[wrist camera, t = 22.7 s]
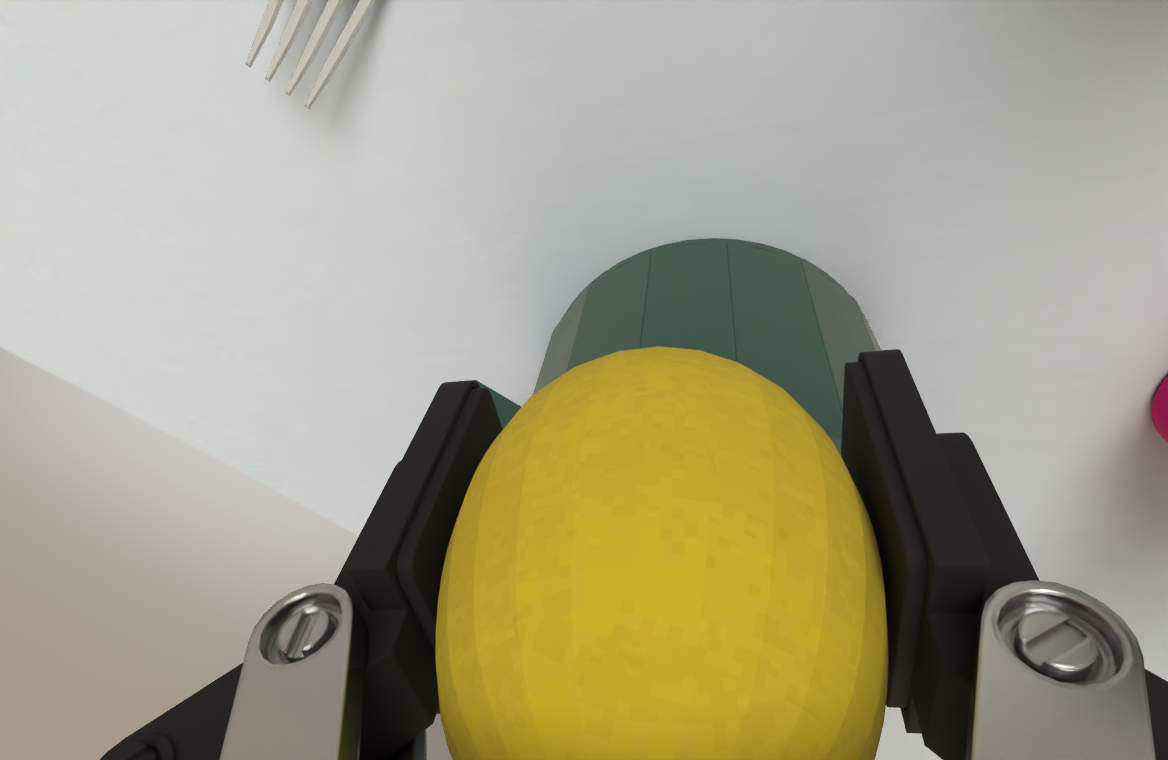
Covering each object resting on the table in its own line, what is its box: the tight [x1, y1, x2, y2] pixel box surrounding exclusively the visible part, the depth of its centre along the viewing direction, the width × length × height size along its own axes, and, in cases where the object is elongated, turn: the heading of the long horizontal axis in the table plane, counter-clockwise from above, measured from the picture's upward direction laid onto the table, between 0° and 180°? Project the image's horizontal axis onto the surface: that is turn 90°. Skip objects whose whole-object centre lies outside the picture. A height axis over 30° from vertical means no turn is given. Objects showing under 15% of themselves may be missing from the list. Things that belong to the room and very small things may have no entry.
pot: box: [474, 239, 881, 456], centre depth 26 cm, size 15×20×11 cm
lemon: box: [435, 346, 888, 760], centre depth 9 cm, size 6×6×8 cm
